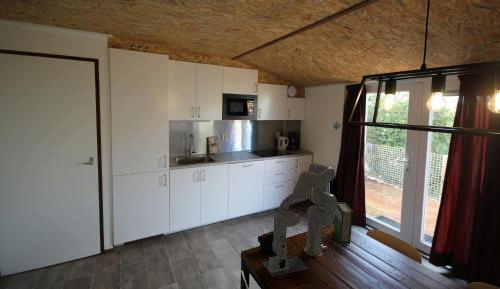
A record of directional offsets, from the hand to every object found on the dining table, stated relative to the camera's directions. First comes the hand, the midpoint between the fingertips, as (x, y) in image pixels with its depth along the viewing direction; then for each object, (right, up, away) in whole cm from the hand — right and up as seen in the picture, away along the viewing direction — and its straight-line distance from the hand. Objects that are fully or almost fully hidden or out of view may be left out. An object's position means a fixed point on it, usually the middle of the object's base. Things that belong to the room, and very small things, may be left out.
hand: (278, 263), depth 149 cm
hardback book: (+52, -1, +43) cm, 68 cm away
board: (+4, -4, +3) cm, 7 cm away
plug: (+3, -3, +1) cm, 4 cm away
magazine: (-5, -2, +18) cm, 18 cm away
